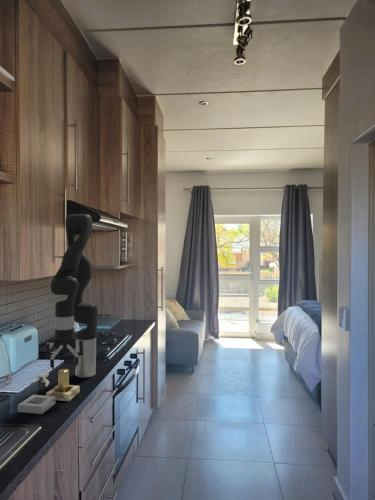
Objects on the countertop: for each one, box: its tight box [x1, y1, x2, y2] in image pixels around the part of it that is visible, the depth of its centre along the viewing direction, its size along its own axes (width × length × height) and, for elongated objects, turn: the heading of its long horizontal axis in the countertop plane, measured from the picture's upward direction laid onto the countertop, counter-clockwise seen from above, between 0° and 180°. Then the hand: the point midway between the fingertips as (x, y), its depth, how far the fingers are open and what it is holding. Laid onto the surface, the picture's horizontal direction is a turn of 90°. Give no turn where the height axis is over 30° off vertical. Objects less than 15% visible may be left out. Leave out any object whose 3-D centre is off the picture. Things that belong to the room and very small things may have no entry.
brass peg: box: [57, 368, 70, 392], centre depth 145 cm, size 4×4×10 cm
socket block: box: [17, 394, 57, 415], centre depth 134 cm, size 10×10×2 cm
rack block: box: [45, 384, 81, 402], centre depth 145 cm, size 10×10×2 cm
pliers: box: [32, 372, 50, 388], centre depth 161 cm, size 10×2×15 cm
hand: (64, 367), depth 146 cm, fingers open, 8 cm apart
